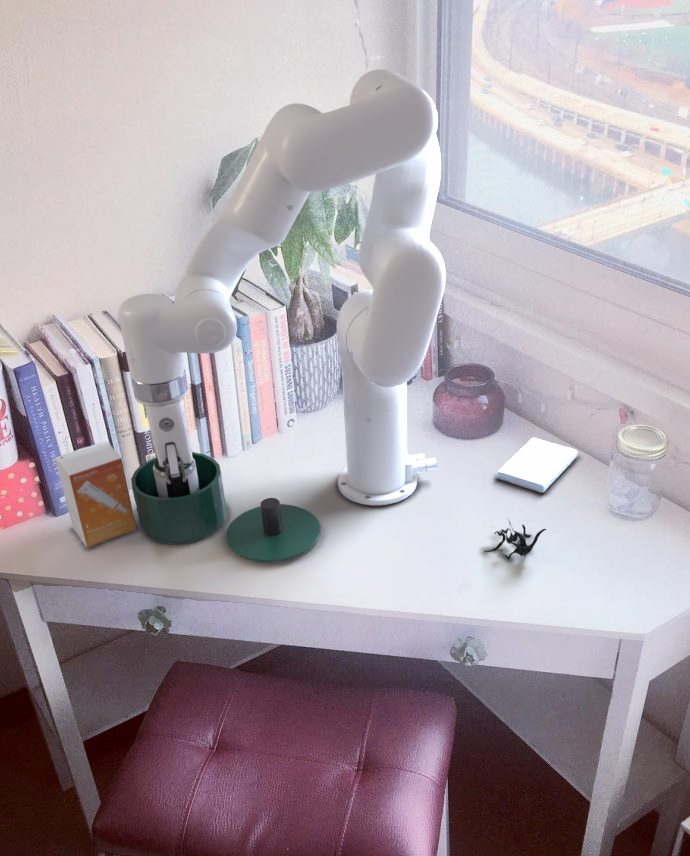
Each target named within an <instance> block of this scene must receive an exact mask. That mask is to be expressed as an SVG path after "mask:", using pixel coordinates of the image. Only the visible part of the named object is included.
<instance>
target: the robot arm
mask: <svg viewBox="0 0 690 856" xmlns="http://www.w3.org/2000/svg"><path fill="white" fill-rule="evenodd" d="M438 123H439V117H438V110H437V107H436V105H435V102H434V101H433V99H432V97H431V96H430V95H429V94H428V93H427V91H425V90H424V89H423V88H422V87H420V86H419V85H417V84H415V83H414V82H412V81H410V80H409V79H407V78H406V77H404V76H402V75H401V74H399V73H397V72H395V71H391V70H387V69H383V68H381V69H373V70H370V71H368V72H365V73H364V74H363V75H361V76H360V77H359V79H358V80H357V81H356V83H355V84H354V86H353V88H352V91H351V93H350V98H349V104H348V105H345V106H343V107H340V108H336V109H333V110H330V111H327V112H322V111H320V110H319V109H317V108H315V107H313V106H312V105H309V104H305V103H298V102H297V103H296V102H295V103H290V104H287V105H284V106H282V107H280V109H278V111H276V112H275V114H274V115H273V116H272V117H271V118H270V120H269V123H268V124H267V126H266V127H265V129H264V132H263V134H262V135H261V137H260V139H259V142H258V143H257V145H256V147H255V149H254V151H253V153H252V155H251V157H250V159H249V161H248V163H247V165H246V167H245V169H244V171H243V173H242V174H241V177H240V179H239V180H238V183H237V184H236V186H235V188H234V190H233V192H232V194H231V196H230V198H229V200H228V201H227V203H226V205H225V206H224V209H223V210H222V211H221V212H220V213H219V215H217V217H216V218H215V220H214V221H213V223H212V224H211V225H210V227H209V228H208V229H207V230H206V232H205V233H204V235H203V236H202V237H201V239H200V241H199V242H198V244H197V245H196V247H195V249H194V250H193V253H192V255H191V257H190V259H189V261H188V262H187V264H186V266H185V268H184V271H183V273H182V274H181V277H180V279H179V280H178V283H177V285H176V289H175V293H174V298H173V299H174V300H173V301H172V300H171V299H170V297H167V296H166V295H164V294H160V293H142V294H138V295H133V296H131V297H129V298H127V299H125V300H124V301H123V302H121V304H120V305H119V309H118V320H119V321H118V322H119V326H120V331H121V336H122V341H123V346H124V351H125V355H126V356H125V357H126V360H127V365H128V371H129V375H130V381H131V386H132V387H131V388H132V390H133V391H132V392H133V395H134V399H135V401H136V402H137V403H138V404H141V405H143V406H144V407H145V412H146V417H147V422H148V427H149V431H150V434H151V439H152V443H153V444H152V445H153V447H154V451H155V455H156V457H157V458H158V462H159V465H160V466H161V467H163V468H164V467H165V472H166V478H167V482H166V487H167V492H168V497H169V498H175V497H181V496H186V495H189V494H190V488H189V483H188V479H186V475H185V470H184V463H185V464H187V463H189V464H191V463H192V461H193V457H192V452H193V450H192V444H191V438H190V431H189V426H188V425H189V424H188V419H187V412H186V407H185V403H184V398H185V397H186V396H187V394H188V393H189V386H188V379H187V374H186V368H185V367H186V366H185V361H184V354H214V353H219V352H222V351H224V350H226V349H227V348H228V347H230V346H231V345H232V344H233V342H234V341H235V339H236V337H237V332H238V322H237V317H236V315H235V313H234V310H233V307H232V305H231V302H230V297H231V296H232V294H233V292H234V290H235V289H236V286H237V284H238V283H239V281H240V279H241V277H242V275H243V274H244V272H245V270H246V269H247V268H248V266H249V265H250V264H251V262H252V261H254V259H255V258H256V257H257V256H258V255H259V254H261V253H262V252H265V251H267V250H271V249H274V248H276V247H278V246H279V245H281V244H282V243H283V242H284V241H285V239H286V237H288V234H289V233H290V230H291V229H292V227H293V225H294V223H295V222H296V220H297V218H298V216H299V215H300V212H301V210H302V209H303V206H304V205H305V203H306V201H307V199H308V198H309V195H310V194H311V193H319V192H325V191H329V190H332V189H337V188H340V187H343V186H346V185H349V184H351V183H354V182H358V181H360V180H363V179H366V178H368V177H371V176H374V175H375V177H374V183H373V189H372V195H371V199H370V204H369V209H368V213H367V217H366V222H365V225H364V230H363V233H362V238H361V241H360V246H359V250H358V264H359V268H360V270H361V273H362V274H363V276H364V277H365V278H366V280H367V281H368V283H369V284H370V285H371V287H372V289H365V290H360V291H358V292H356V293H354V294H352V295H351V296H350V297H348V298H347V299H346V300H345V301H344V303H343V304H342V306H341V307H340V309H339V312H338V314H337V320H336V340H337V346H338V347H337V348H338V354H339V361H340V368H341V369H340V370H341V379H342V380H341V381H342V395H343V396H342V397H343V398H342V400H343V401H342V402H343V417H344V418H343V419H344V421H343V422H344V435H345V436H344V437H345V440H344V441H345V457H346V466H345V467H344V468H342V470H341V471H340V473H339V474H338V477H337V486H338V487H337V488H338V490H339V492H340V493H341V495H343V496H344V497H345V498H346V499H348V500H350V501H351V502H354V503H356V504H361V505H365V506H389V505H392V504H396V503H398V502H402V501H404V500H405V499H407V498H408V497H410V496H411V495H412V494H413V493H414V491H415V490H416V488H417V485H418V475H419V473H422V472H431V471H437V470H438V462H437V459H436V458H435V457H432V458H431V457H430V458H426V457H425V453H424V452H420V453H414V454H410V453H408V421H407V420H408V418H407V417H408V414H407V413H408V410H407V409H408V407H407V406H408V405H407V404H408V403H407V398H408V384H407V383H408V381H410V380H411V379H412V378H413V377H414V376H415V375H416V374H417V373H418V371H419V370H420V368H421V367H422V365H423V363H424V360H425V358H426V356H427V352H428V349H429V346H430V343H431V339H432V336H433V333H434V329H435V327H436V323H437V319H438V314H439V312H440V308H441V304H442V301H443V297H444V293H445V288H446V266H445V262H444V259H443V257H442V254H441V252H440V251H439V249H438V248H437V247H436V246H435V244H434V243H433V242H432V241H431V240H430V231H431V226H432V221H433V216H434V212H435V207H436V202H437V198H438V193H439V189H440V182H441V173H442V172H441V171H442V167H441V166H442V161H441V160H442V159H441V149H440V144H439V141H438V137H437V130H438V125H439V124H438ZM183 353H184V354H183ZM178 457H180V461H177V458H178ZM166 459H168V461H169V463H167V462H166ZM178 466H180V467H181V472H179V468H178ZM169 468H170V473H169Z"/></svg>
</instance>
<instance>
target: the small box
mask: <svg viewBox="0 0 690 856" xmlns="http://www.w3.org/2000/svg"><path fill="white" fill-rule="evenodd" d="M54 460H55V465H56V469H57V472H58V476H59V479H60V483H61V487H62V488H61V489H62V492H63V495H64V499H65V503H66V508H67V511H68V514H69V517H70V521H71V525H72V529H73V531H74V532H75V533H76V534H77V536H78V537H79V538H80V540H81V541H82V543H83V544H84V545H85V547H86V548H87V549H88V548H91V547H93V546H95V545H98V544H101V543H103V542H106V541H108V540H111V539H114V538H116V537H119V536H122V535H124V534H127V533H131V532H134V531H136V530H137V524H136V520H135V515H134V510H133V506H132V500H131V495H130V491H129V488H128V482H127V481H128V480H127V477H126V472H125V468H124V467H125V466H124V463H123V459H122V457H121V455H120V454H119V453H118V452H117V451H116V450H115V448H113V446H112V445H111V444H110V442H108V441H107V440H105V441H102V442H98V443H95V444H92V445H89V446H85V447H81V448H78V449H75V450H74V451H71V452H67V453H64V454H62V455H59V456H55V457H54Z"/></svg>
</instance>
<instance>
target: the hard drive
mask: <svg viewBox="0 0 690 856" xmlns="http://www.w3.org/2000/svg"><path fill="white" fill-rule="evenodd" d="M577 458H578V450H576V449H574V448H571V447H568V446H564V445H560V444H556V443H553V442H550V441H547V440H544V439H539V438H537V437H531V438H530V440H528V441H527V443H525V444H524V445H523V446H522V447H521V448H520V449H519V450H518V451H517V452H516V453H515V454H514V455H512V457H511V458H510V459H509V460H508V461H506V462H505V464H504V465H502V467H500V468H499V469H498V470H497V472H496V479H498V480H499V481H502V482H505V483H509V484H512V485H515V486H519V487H522V488H525V489H528V490H531V491H535V492H538V493H541V494H544V493H545V492H546V491H547V490H548V489H549V487H550V486H552V484H553V483H554V482H555V481H556V480H557V479H558V478H559V477H560V475H562V474H563V473H564V472H565V470H566V469H567V468H569V466H570V465H571V464H572V463H573V462H574V461H575V460H576V459H577Z"/></svg>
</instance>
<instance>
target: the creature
mask: <svg viewBox="0 0 690 856" xmlns="http://www.w3.org/2000/svg"><path fill="white" fill-rule="evenodd" d="M507 520H508V523H509V525H512V524H511V521H510V519H509V518H507ZM521 526H522V530H523V533H521V532H518V531H516V530H514V528H513V527H509V528H508V527H507V528H506V529H503V528H502V529H500V530H496V531H495V532H494V533H493V535H495V534H497V535H498V537H501V536H502V540H501V541H500V542H499V543H498V544H497V545H496V547H493V548H492V549H489V550H487V549H485V550H484V553H491V552H496V551H499V552H503V551H504V549H500V548H501V547H502V546H503V544H504V543H505V542H506V543H507V544H509V545H514V546H515V548H514V550H513V551H512V552H510V553H509V555H506V554H504V553H501V555H502V556H505V557H506V558H507V560H510V559H511V556H512V555H514V554H517V555H519V556H520V557H523V556H526V555H528V554H530V553H531V551H533V548H534V546H535V545H536V543H537V542H538V539H539V538H540V535H541V534H542V533H543V532H544V531H547V529H546V528H543V529H541V530H539V531H538V532H537V533H536V535H535V536H534V539H533V541H532V542H531V543H530V544H529V545H528V544H527V539H530V538H531V537H532V534H527V532H526V531H527V530H526V526H525V524H521ZM511 529H512V530H511ZM508 531H512V532H513V533H514V534H513V533H512V532H510V535H509V537H508ZM518 538H519V540H518ZM517 540H518V542H517ZM516 542H517V543H516Z"/></svg>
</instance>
